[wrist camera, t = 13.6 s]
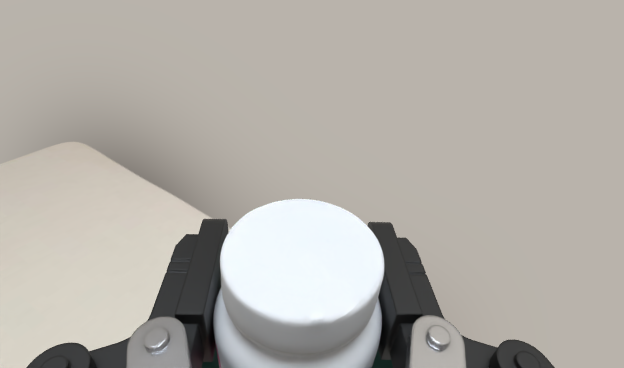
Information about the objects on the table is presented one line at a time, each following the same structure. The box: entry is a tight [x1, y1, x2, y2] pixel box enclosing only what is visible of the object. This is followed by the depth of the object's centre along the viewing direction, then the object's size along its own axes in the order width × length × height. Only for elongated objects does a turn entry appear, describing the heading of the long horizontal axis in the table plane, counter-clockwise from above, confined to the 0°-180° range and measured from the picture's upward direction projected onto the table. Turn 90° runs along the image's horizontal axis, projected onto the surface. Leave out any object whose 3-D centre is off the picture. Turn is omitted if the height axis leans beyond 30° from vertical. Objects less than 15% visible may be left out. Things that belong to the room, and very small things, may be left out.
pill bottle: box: [213, 199, 384, 368], centre depth 11 cm, size 5×5×8 cm
